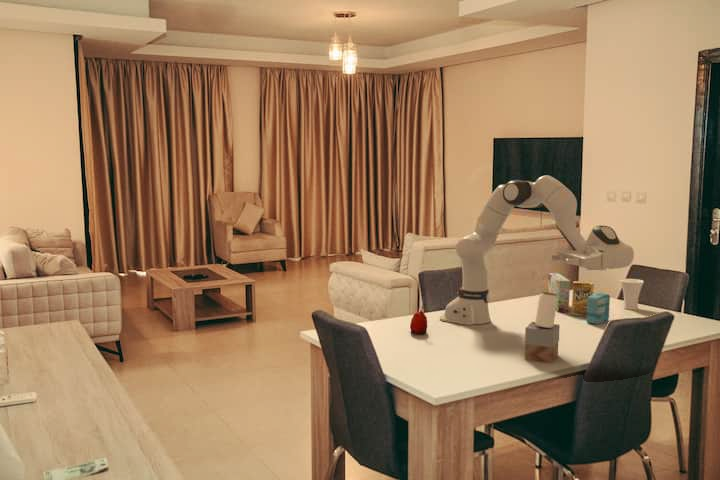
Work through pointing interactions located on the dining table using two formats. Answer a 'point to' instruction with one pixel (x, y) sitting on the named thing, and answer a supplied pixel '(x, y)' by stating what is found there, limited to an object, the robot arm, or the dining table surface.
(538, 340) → the tower top
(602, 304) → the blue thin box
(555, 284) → the snack box
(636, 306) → the cup
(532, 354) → the tower base
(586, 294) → the candy box
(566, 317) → the dining table surface
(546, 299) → the can
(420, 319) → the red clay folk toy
